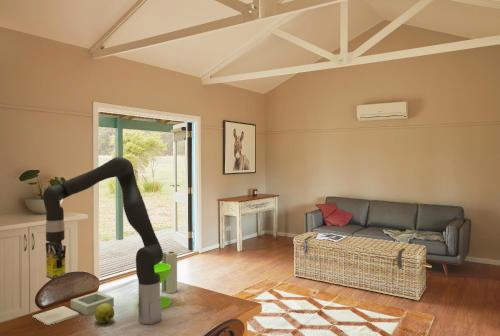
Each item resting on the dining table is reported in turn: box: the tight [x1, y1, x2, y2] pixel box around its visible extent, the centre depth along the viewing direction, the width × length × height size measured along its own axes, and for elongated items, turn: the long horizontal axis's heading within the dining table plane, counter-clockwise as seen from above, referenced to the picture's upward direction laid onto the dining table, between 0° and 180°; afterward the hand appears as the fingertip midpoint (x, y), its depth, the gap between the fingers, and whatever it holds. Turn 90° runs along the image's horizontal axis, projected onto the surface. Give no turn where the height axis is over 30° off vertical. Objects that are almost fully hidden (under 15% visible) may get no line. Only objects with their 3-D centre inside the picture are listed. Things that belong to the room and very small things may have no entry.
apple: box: [94, 303, 115, 324], centre depth 165 cm, size 8×9×8 cm
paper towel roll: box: [161, 250, 178, 294], centre depth 203 cm, size 7×6×21 cm
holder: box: [70, 291, 115, 316], centre depth 182 cm, size 14×14×4 cm
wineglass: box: [137, 262, 172, 310], centre depth 186 cm, size 16×16×18 cm
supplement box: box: [45, 252, 66, 280], centre depth 170 cm, size 6×6×11 cm
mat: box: [32, 305, 80, 326], centre depth 171 cm, size 14×14×1 cm
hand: (55, 266), depth 170 cm, fingers closed on supplement box, 6 cm apart
